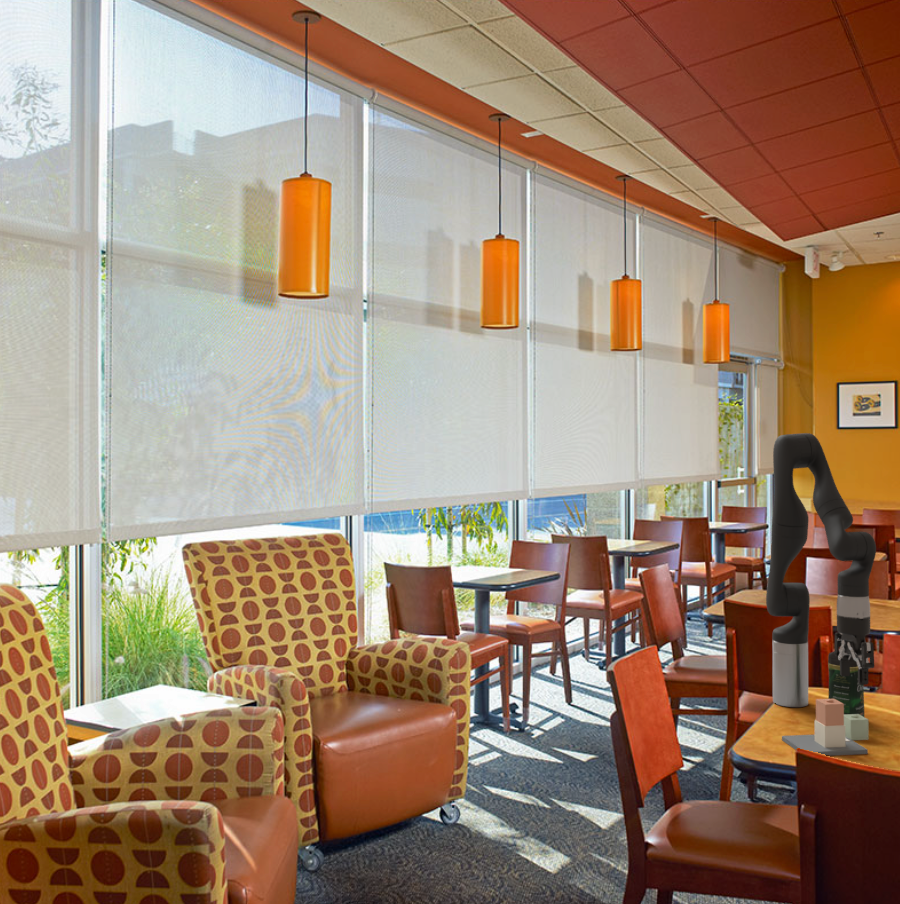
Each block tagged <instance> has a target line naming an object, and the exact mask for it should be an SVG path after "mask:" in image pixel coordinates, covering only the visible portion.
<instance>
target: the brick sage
mask: <svg viewBox="0 0 900 904" xmlns="http://www.w3.org/2000/svg"><path fill="white" fill-rule="evenodd" d="M844 725H845V736H846V737H848V738H849V739H851V740H853V741H866V740H867V741H869V718H866V717H865V716H864V717H863V716H861V715H859V714H846V715H844Z"/></svg>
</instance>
